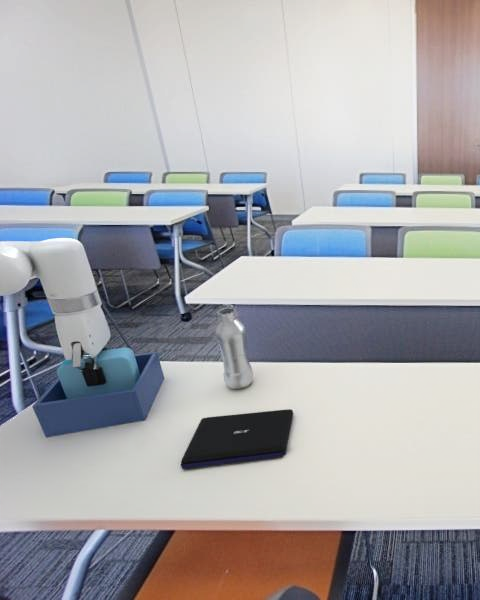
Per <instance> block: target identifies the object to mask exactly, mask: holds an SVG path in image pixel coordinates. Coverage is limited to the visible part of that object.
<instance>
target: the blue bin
mask: <svg viewBox="0 0 480 600" xmlns="http://www.w3.org/2000/svg"><path fill="white" fill-rule="evenodd" d="M134 356H135V359H136V362H137V366H138V369H139V372H140V377H139V379H138V381H137V383H136V384H135V386H134V388H133V390H126V391H120V392H113V393H106V394H99V395H92V396H86V397H79V398H72V399H67V397H66V395H65V392H64V390H63V387H62V385H61V382H60V380H59V377H58V376H57V377H56V379H55V380H54V381H53V382H52V383H51V384H50V386H49V387H48V388H47V389H46V390H45V391H44V393H42V394H41V396H40V397H39V398H38V399H37V400H36V401H35V403H34V404H33V405H32V410H33V412H34V414H35V416H36V419H37V421H38V423H39V425H40V427H41V429H42V432H43V434H44V436H45V438H49V437H56V436H61V435H67V434H73V433H79V432H85V431H90V430H96V429H102V428H107V427H115V426H119V425H124V424H125V425H126V424H131V423H138V422H143V421H146V419H147V417H148V415H149V413H150V411H151V408H152V406H153V404H154V401H155V400H156V397H157V395H158V393H159V391H160V389H161V387H162V384H163V382H164V380H165V375H164V371H163V368H162V367H163V366H162V365H161V360H160V357H159V354H158V351H154V352H153V351H152V352H145V353H137V354H134Z"/></svg>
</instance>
